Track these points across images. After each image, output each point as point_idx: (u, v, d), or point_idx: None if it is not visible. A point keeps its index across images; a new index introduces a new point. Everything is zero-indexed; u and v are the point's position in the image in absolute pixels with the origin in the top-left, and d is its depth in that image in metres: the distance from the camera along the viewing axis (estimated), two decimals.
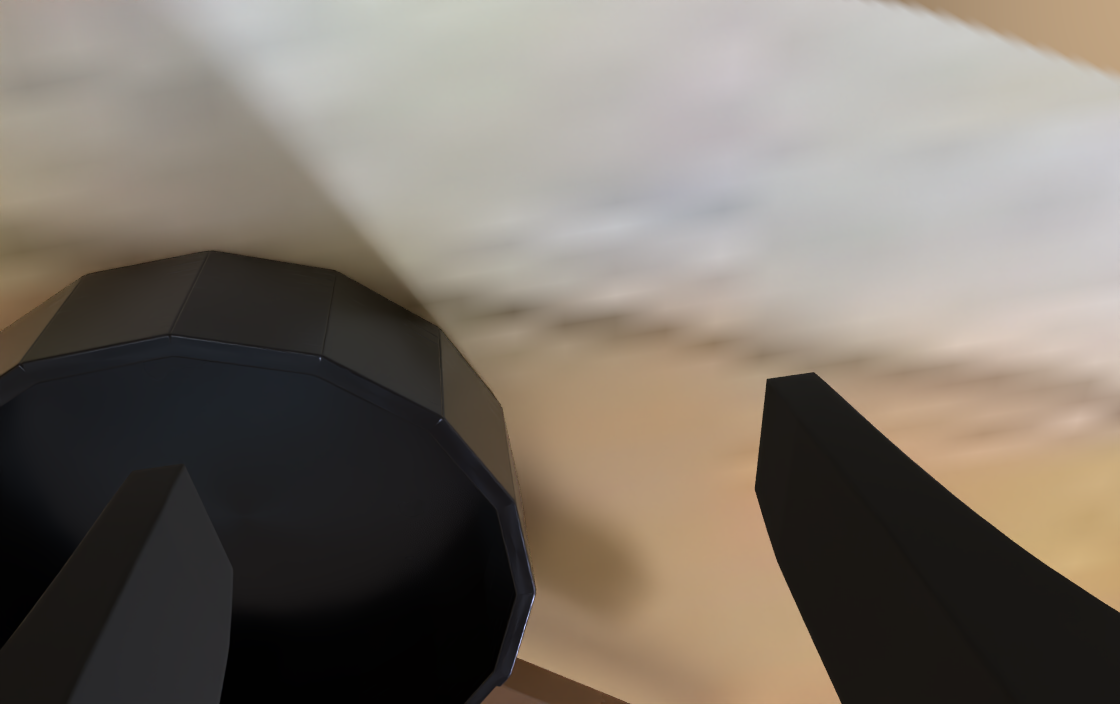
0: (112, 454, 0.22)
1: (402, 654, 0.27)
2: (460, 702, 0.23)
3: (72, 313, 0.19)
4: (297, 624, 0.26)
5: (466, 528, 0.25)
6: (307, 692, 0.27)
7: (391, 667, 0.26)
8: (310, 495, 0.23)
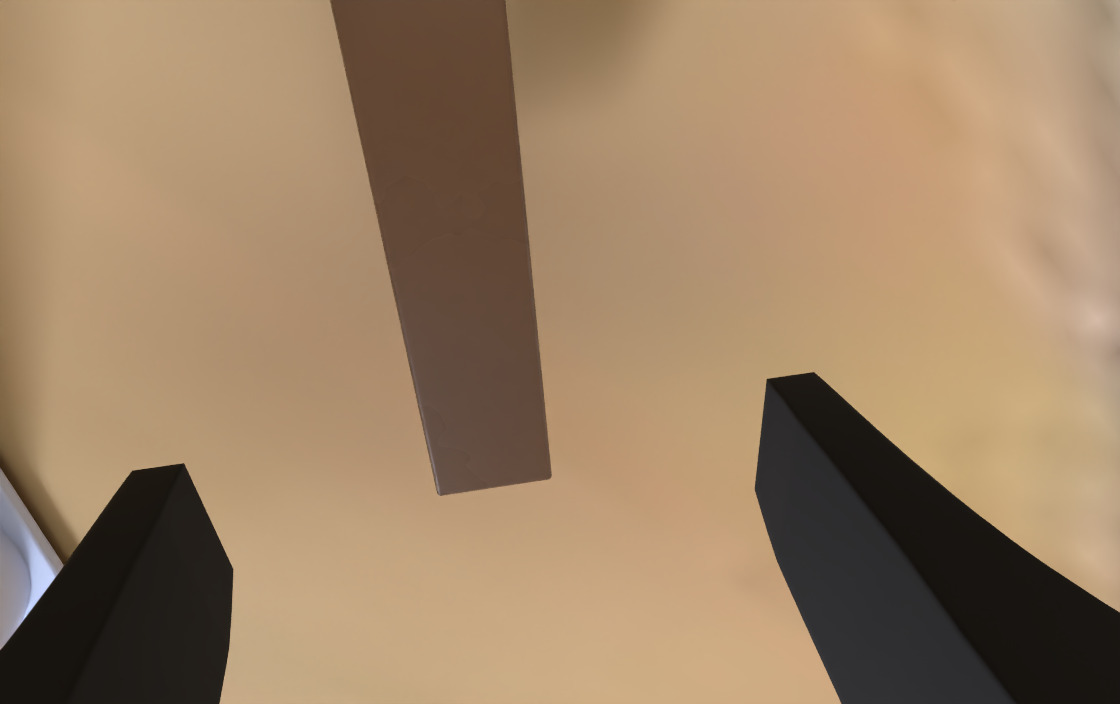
0: None
1: None
2: None
3: None
4: None
5: None
6: None
7: None
8: None
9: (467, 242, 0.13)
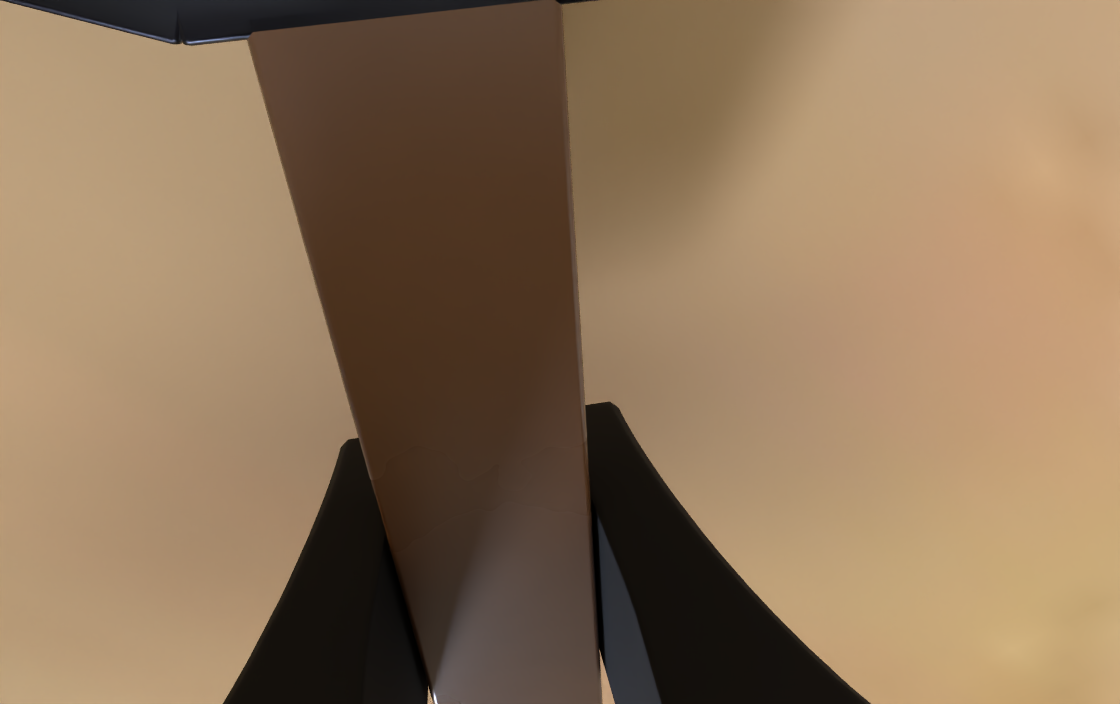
0: None
1: None
2: None
3: None
4: None
5: None
6: None
7: None
8: None
9: (504, 518, 0.09)
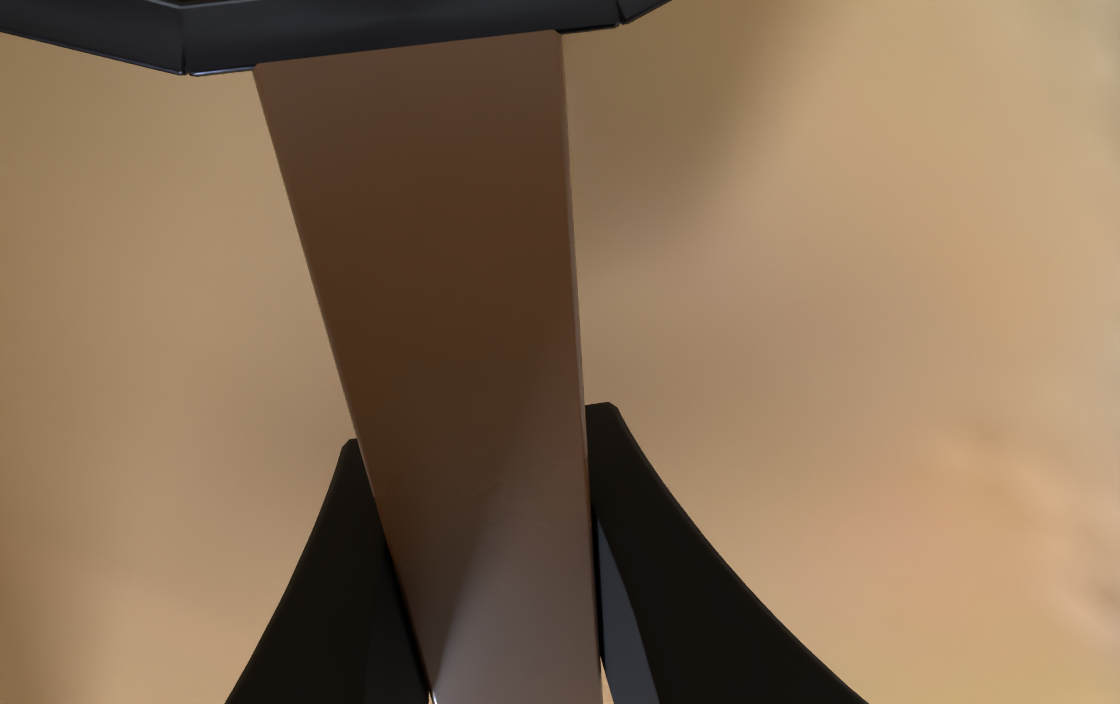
0: None
1: None
2: None
3: None
4: None
5: None
6: None
7: None
8: None
9: (505, 533, 0.09)
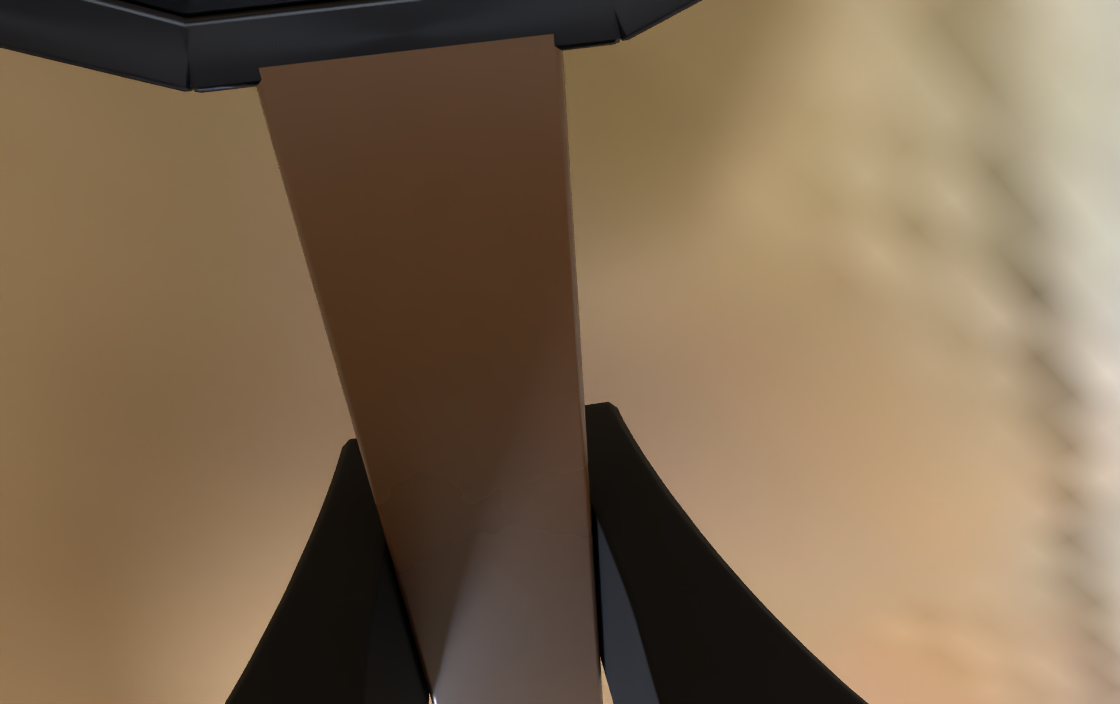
0: None
1: None
2: None
3: None
4: None
5: None
6: None
7: None
8: None
9: (506, 540, 0.09)
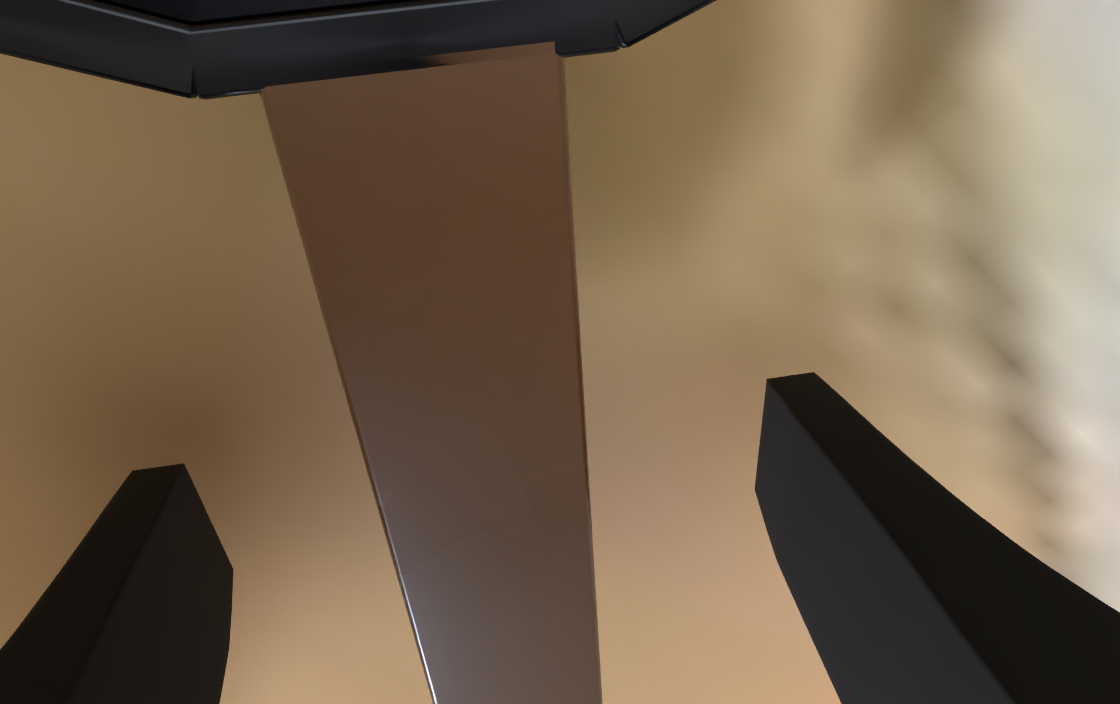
0: None
1: None
2: None
3: None
4: None
5: None
6: None
7: None
8: None
9: (507, 541, 0.09)
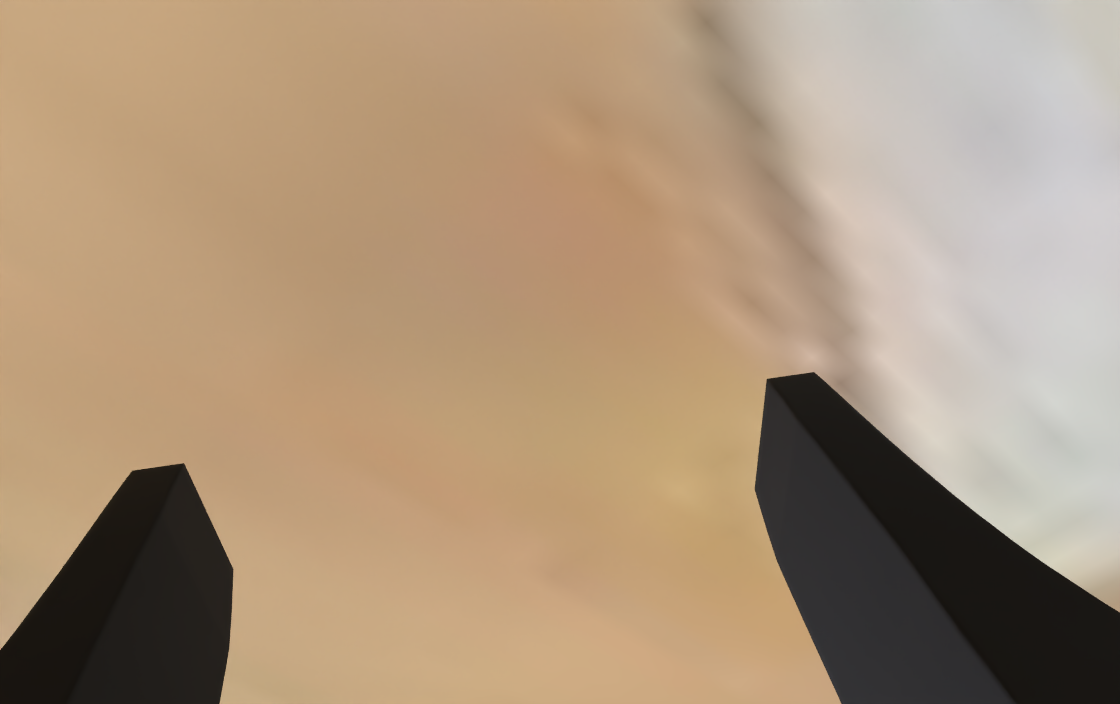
0: None
1: None
2: None
3: None
4: None
5: None
6: None
7: None
8: None
9: None
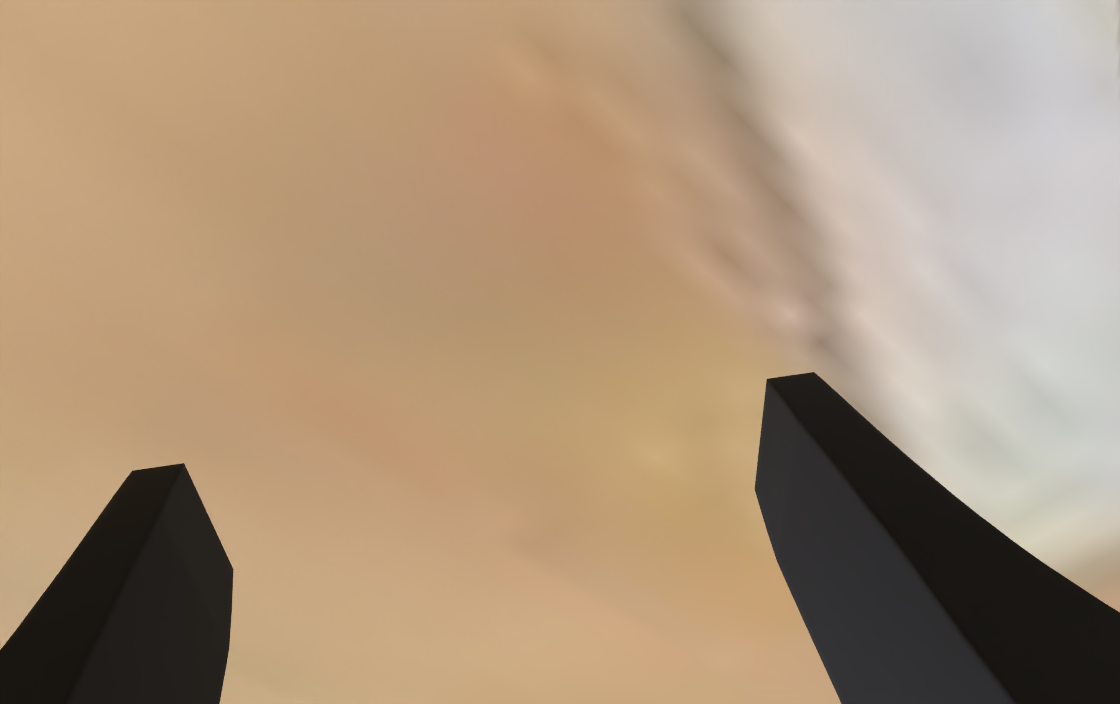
0: None
1: None
2: None
3: None
4: None
5: None
6: None
7: None
8: None
9: None
